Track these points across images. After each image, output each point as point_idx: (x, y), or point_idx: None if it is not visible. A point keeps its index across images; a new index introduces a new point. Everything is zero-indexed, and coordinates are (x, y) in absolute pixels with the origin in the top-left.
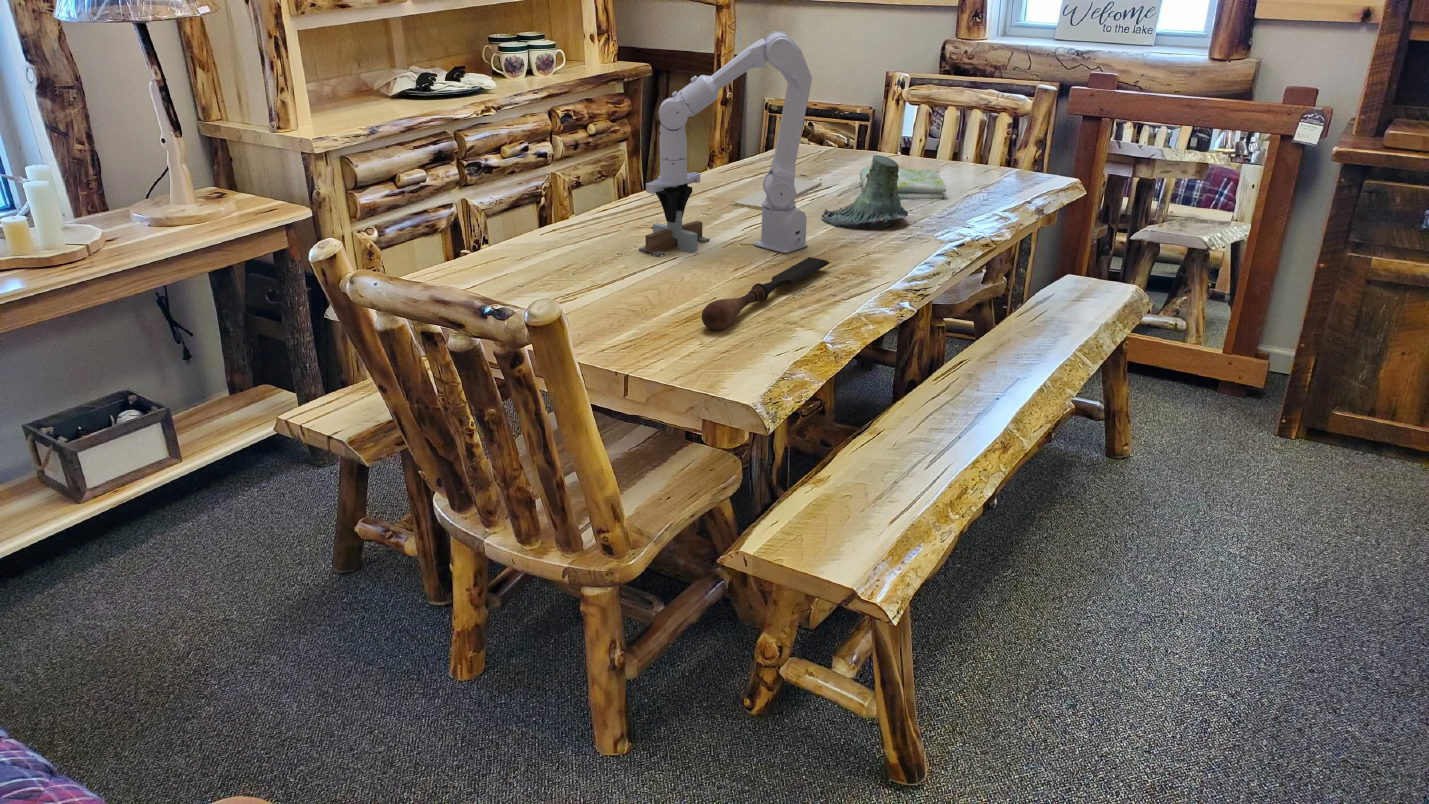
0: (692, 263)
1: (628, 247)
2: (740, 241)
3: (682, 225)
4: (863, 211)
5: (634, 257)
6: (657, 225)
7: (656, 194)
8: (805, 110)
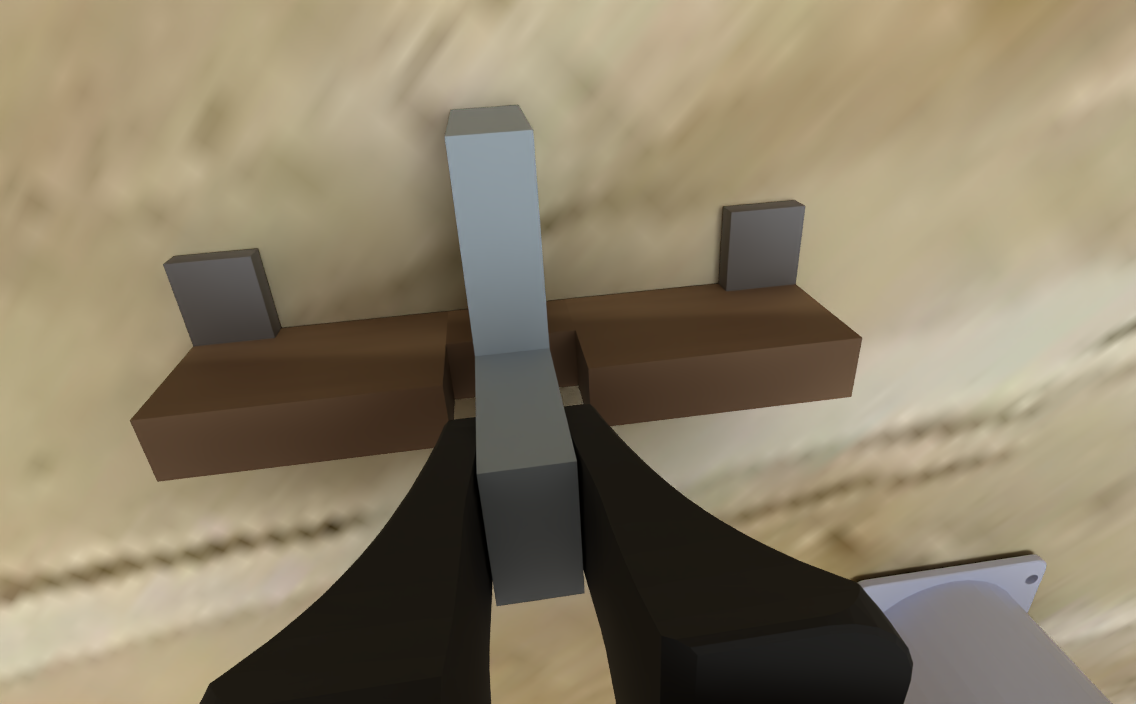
0: None
1: (140, 87)
2: (886, 492)
3: (646, 377)
4: None
5: (63, 357)
6: (456, 216)
7: (240, 669)
8: None
